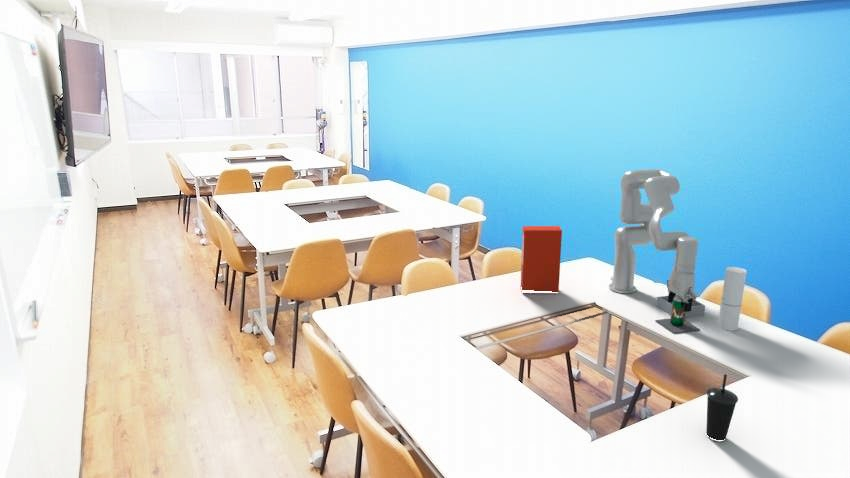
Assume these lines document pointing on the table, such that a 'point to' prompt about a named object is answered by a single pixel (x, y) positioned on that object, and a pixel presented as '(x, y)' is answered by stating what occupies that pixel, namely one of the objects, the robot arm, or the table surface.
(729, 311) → the cylindrical container
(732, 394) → the drinking cup
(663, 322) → the mat
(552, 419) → the table surface
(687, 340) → the table surface
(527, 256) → the file binder
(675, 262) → the robot arm
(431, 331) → the table surface
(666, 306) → the grey bin
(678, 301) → the soda can
